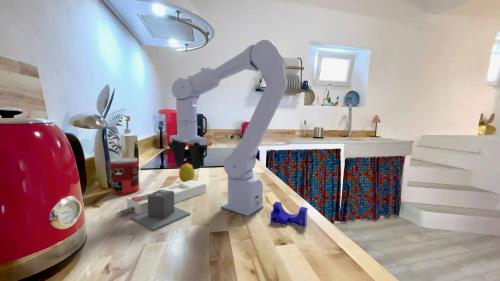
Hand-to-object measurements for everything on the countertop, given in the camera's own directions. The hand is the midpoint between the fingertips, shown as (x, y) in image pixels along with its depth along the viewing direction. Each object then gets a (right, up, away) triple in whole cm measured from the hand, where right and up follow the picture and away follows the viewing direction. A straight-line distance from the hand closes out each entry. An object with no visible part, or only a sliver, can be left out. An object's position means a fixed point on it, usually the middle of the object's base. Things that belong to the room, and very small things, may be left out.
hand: (187, 166), depth 65 cm
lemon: (-5, -9, +16) cm, 19 cm away
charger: (-4, -11, -10) cm, 15 cm away
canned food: (-23, -9, +7) cm, 26 cm away
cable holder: (+28, -12, -13) cm, 33 cm away
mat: (-4, -11, -11) cm, 16 cm away
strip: (-6, -10, -1) cm, 12 cm away
